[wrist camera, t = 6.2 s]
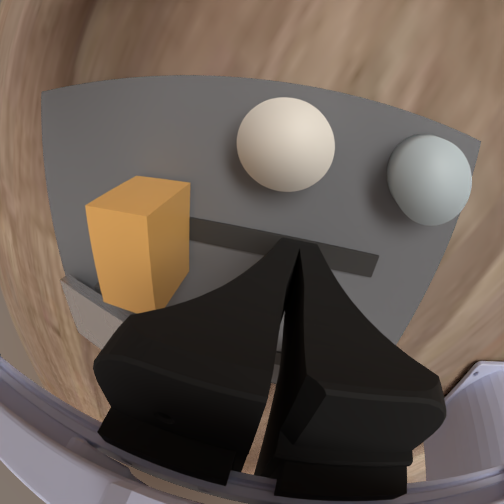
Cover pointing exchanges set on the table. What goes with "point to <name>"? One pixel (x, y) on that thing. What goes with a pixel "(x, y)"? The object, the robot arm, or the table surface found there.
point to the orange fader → (141, 241)
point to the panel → (266, 180)
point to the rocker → (92, 312)
